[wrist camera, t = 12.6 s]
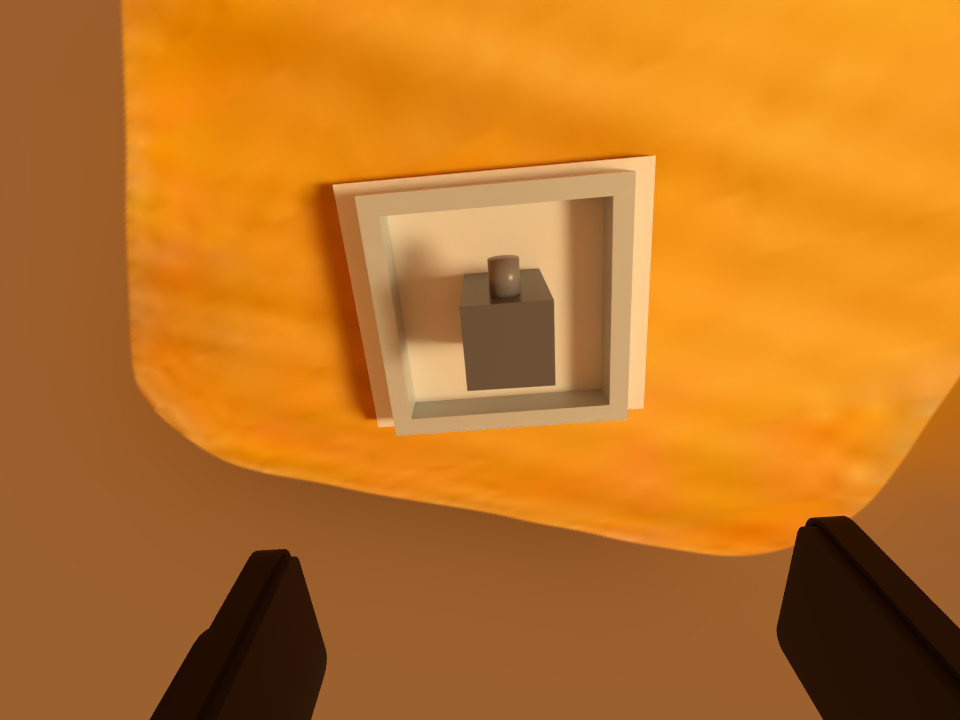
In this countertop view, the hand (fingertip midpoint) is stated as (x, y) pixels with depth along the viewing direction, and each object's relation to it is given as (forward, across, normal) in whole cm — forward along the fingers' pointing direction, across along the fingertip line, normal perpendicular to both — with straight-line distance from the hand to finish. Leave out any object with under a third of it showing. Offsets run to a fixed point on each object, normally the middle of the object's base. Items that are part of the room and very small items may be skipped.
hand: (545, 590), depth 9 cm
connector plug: (+19, 0, 0) cm, 19 cm away
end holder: (+20, 0, 0) cm, 20 cm away
